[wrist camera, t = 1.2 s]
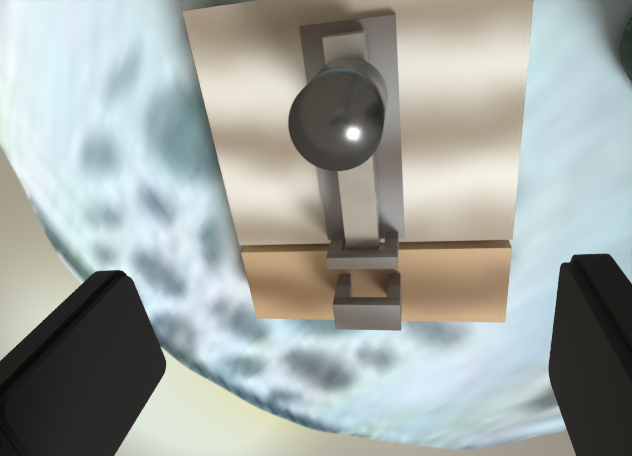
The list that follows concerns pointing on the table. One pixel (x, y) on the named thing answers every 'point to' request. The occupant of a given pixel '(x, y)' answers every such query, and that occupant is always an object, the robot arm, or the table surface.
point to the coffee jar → (627, 50)
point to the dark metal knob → (345, 131)
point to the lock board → (390, 157)
